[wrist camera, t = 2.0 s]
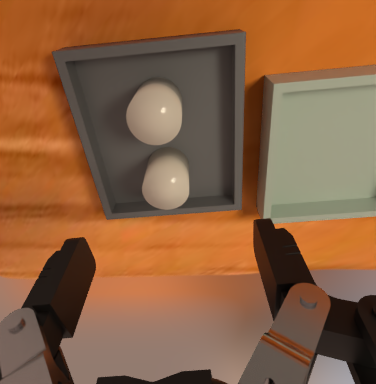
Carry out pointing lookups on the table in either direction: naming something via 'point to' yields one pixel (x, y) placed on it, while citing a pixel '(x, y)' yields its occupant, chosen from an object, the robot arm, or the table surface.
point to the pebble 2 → (166, 179)
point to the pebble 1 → (155, 111)
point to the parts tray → (191, 116)
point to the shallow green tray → (318, 145)
